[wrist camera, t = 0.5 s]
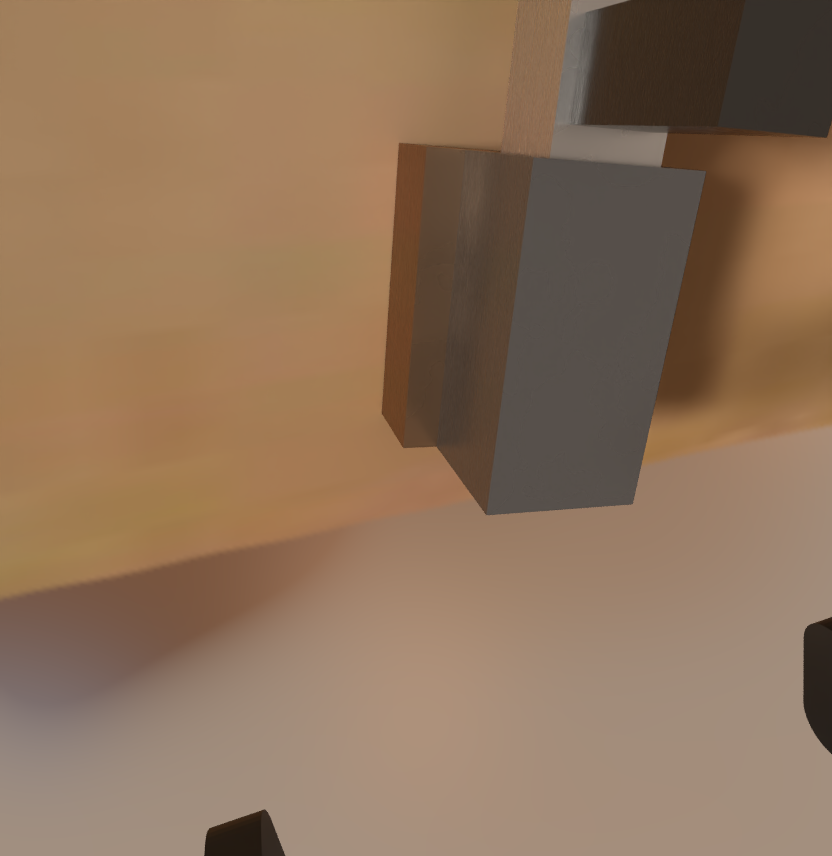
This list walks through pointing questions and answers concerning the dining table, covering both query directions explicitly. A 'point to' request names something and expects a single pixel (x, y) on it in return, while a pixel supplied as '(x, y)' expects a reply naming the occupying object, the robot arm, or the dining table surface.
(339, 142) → the dining table surface
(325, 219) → the dining table surface
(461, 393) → the sleeve
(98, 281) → the dining table surface
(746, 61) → the grey angled block
